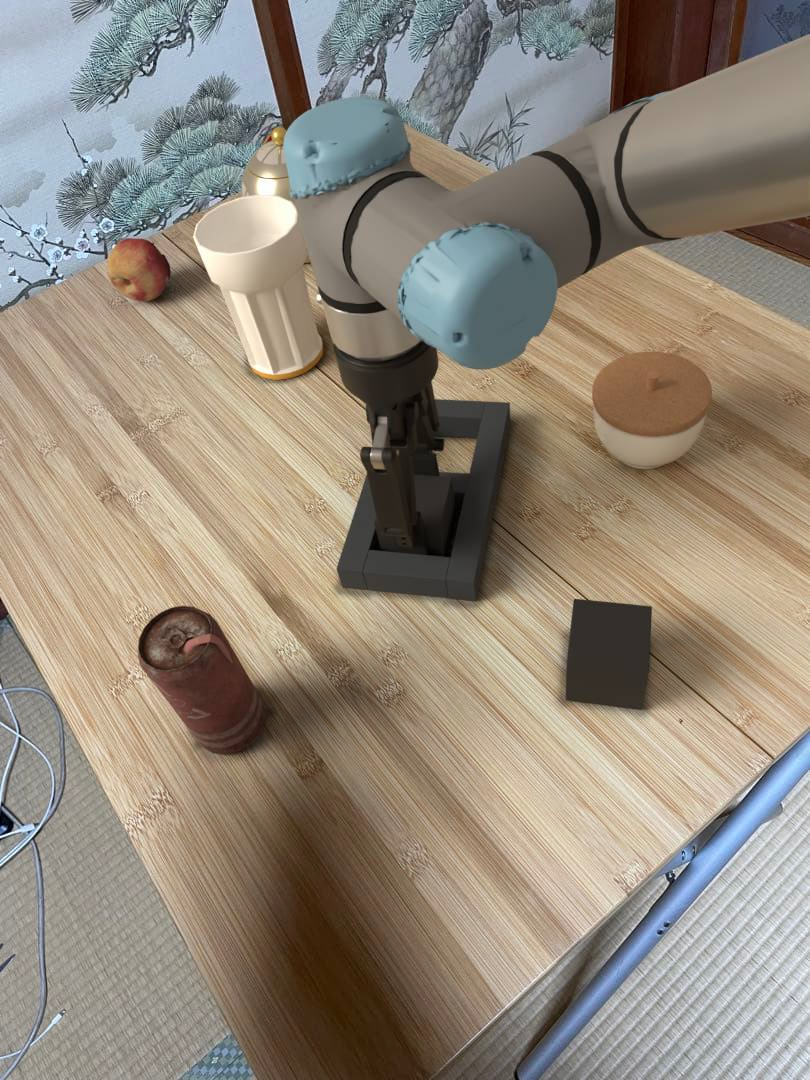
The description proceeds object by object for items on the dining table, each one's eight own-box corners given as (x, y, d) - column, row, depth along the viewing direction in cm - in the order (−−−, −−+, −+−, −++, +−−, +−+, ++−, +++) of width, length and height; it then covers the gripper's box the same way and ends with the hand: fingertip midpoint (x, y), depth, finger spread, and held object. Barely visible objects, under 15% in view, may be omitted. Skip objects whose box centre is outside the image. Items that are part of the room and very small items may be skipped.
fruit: (112, 298, 113) (87, 245, 107) (160, 271, 115) (138, 218, 109) (139, 321, 109) (114, 268, 102) (189, 293, 111) (167, 239, 105)
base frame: (510, 423, 88) (509, 402, 86) (476, 601, 75) (473, 582, 72) (395, 417, 91) (391, 396, 88) (342, 587, 78) (336, 568, 75)
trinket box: (628, 502, 79) (636, 432, 72) (569, 434, 86) (571, 363, 78) (723, 459, 81) (741, 386, 74) (658, 396, 87) (668, 323, 80)
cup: (237, 337, 104) (190, 208, 90) (325, 316, 104) (292, 184, 90) (244, 396, 96) (195, 265, 83) (339, 373, 97) (305, 238, 83)
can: (270, 751, 68) (216, 667, 57) (194, 761, 69) (127, 679, 58) (271, 686, 72) (222, 595, 61) (200, 696, 72) (138, 607, 62)
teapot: (248, 236, 118) (211, 120, 105) (338, 207, 119) (313, 88, 107) (280, 304, 107) (244, 183, 94) (379, 270, 108) (357, 147, 96)
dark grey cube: (446, 568, 77) (439, 527, 73) (384, 562, 79) (373, 522, 74) (457, 518, 81) (452, 476, 76) (397, 513, 82) (388, 472, 78)
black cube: (642, 710, 66) (649, 673, 61) (565, 700, 68) (566, 663, 63) (645, 645, 70) (652, 605, 65) (572, 637, 71) (573, 598, 66)
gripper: (364, 255, 67) (405, 455, 85) (295, 420, 56) (359, 611, 74) (455, 254, 65) (478, 459, 83) (404, 425, 54) (442, 619, 72)
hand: (422, 530), depth 78 cm, fingers open, 6 cm apart
